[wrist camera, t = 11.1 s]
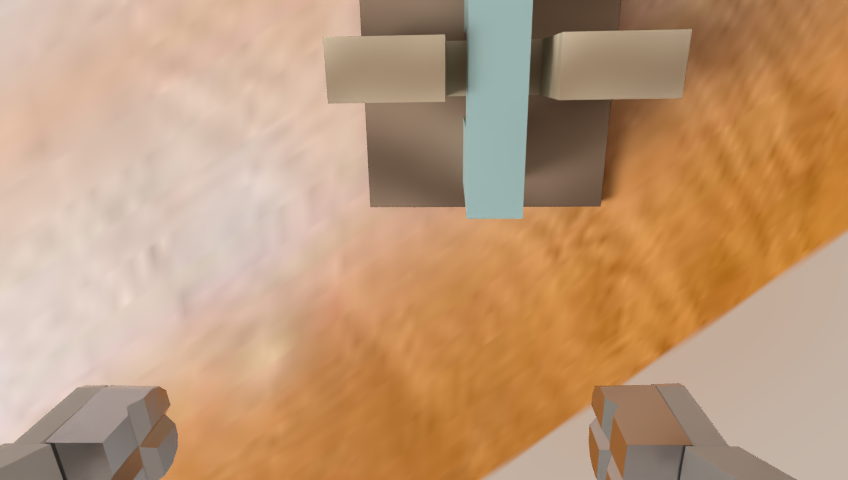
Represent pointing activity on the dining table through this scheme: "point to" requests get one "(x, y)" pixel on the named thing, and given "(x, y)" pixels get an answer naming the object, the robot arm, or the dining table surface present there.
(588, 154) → the stand
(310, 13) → the dining table surface
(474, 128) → the green arch block
